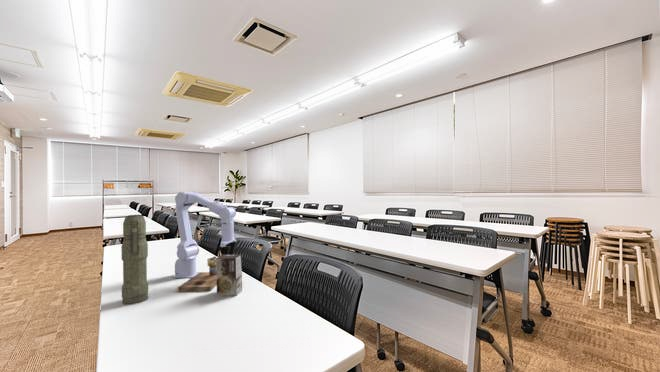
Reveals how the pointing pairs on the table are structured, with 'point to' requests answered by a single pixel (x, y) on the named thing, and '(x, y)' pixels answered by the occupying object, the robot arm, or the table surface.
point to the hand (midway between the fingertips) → (228, 258)
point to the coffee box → (229, 274)
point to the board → (199, 283)
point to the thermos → (134, 260)
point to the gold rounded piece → (212, 266)
